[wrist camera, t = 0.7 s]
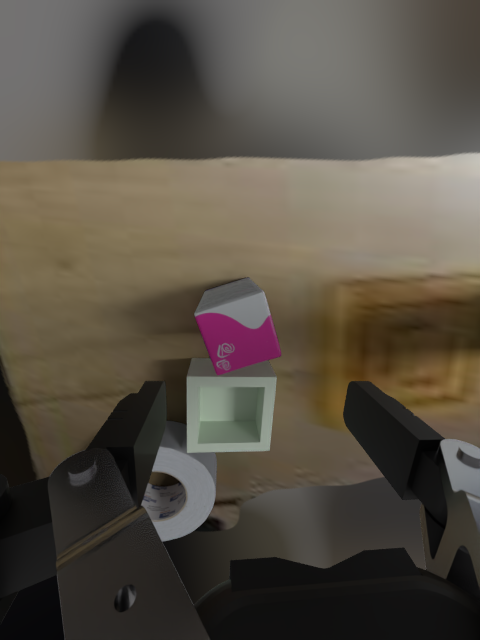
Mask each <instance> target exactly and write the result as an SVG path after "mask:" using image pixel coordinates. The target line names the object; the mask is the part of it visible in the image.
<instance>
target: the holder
mask: <svg viewBox="0 0 480 640" xmlns="http://www.w3.org/2000/svg"><path fill="white" fill-rule="evenodd" d="M276 380H277V377H276V374H275V372H274V370H273V368H272V366H271V364H270V362H269V360H267V361H263V362H260V363H256V364H253V365H250V366H246V367H243V368H240V369H237V370H234V371H231V372H228V373H225V374H221V375H217V374H216V372H215V369H214V366H213V364H212V361H211V359H210V358H192V359H191V363H190V367H189V370H188V374H187V453H197V452H239V451H269V450H270V440H271V430H272V420H273V410H274V400H275V390H276Z"/></svg>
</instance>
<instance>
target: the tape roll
mask: <svg viewBox="0 0 480 640" xmlns="http://www.w3.org/2000/svg"><path fill="white" fill-rule="evenodd" d="M216 470H217V461H216V455H215V452H197V453H187V425H185V424H183V423H179V422H175V421H166V427H165V431H164V434H163V437H162V441H161V444H160V447H159V450H158V453H157V456H156V460H155V463H154V466H153V469H152V472H161V473H166V474H169V475H171V476H173V477H175V478H176V479H178V480H179V481H180V482H179V483H178V484H175V485H172V486H167V487H160V486H155V485H152V484H149V483H148V485H147V488H146V491H145V495H144V498H143V501H142V504H141V506H143V507H144V508H145V509H146V511H147V513H148V514H149V516H150V518H151V520H152V522H153V524H154V526H155V529H156V531H157V533H158V535H159V537H160V539H161V541H167V540H171V539H176V538H179V537H182V536H184V535H187V534H189V533H190V532H192V531H194V530H195V529H196V528H198V527H199V526H200V525H201V524H202V523H203V522H204V521H205V520H206V518H207V517H208V515H209V513H210V512H211V509H212V507H213V505H214V501H215V495H216Z"/></svg>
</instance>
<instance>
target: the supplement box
mask: <svg viewBox="0 0 480 640" xmlns="http://www.w3.org/2000/svg"><path fill="white" fill-rule="evenodd" d="M194 316H195V319H196V322H197V324H198V327H199V330H200V332H201V335H202V337H203V340H204V343H205V345H206V348H207V351H208V353H209V356H210V359H211V361H212V364H213V366H214V369H215V372H216V374H217V375H221V374H225V373H228V372H231V371H234V370H237V369H240V368H243V367H246V366H250V365H253V364H256V363H260V362H263V361H267V360H270V359H273V358H277V357H280V356H281V350H280V346H279V342H278V338H277V335H276V331H275V327H274V324H273V320H272V317H271V314H270V310H269V307H268V303H267V299H266V296H265V293H264V291H263V290H262V289H261V288H259V287H258V286H257V285H256V284H255V283H254V282H253V281H252V280H251V279H250V278H249V277H247V278H244V279H241V280H238V281H234V282H231V283H228V284H224V285H221V286H218V287H215V288H212V289H208V290H206V291H205V292H204V294H203V296H202V298H201V301H200V303H199V305H198V307H197V309H196V311H195V313H194Z"/></svg>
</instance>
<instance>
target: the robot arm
mask: <svg viewBox="0 0 480 640" xmlns="http://www.w3.org/2000/svg"><path fill="white" fill-rule="evenodd" d="M343 417H344V421H345V424H346V426H347V428H348V429H349V430H350V432H351V433H352V434H353V436H354V437H355V438H356V440H357V441H358V442H359V444H360V445H361V446H362V447H363V449H364V450H365V451H366V453H367V454H368V455H369V457H370V458H371V459H372V461H373V462H374V463H375V465H376V466H377V467H378V469H379V470H380V471H381V472H382V474H383V475H384V476H385V478H386V479H387V480H388V482H389V483H390V484H391V486H392V487H393V488H394V490H395V491H396V492H397V493H398V495H399V496H400V497H401V499H402V500H411V499H419V500H420V501H421V502H422V505H421V508H420V521H421V530H422V538H423V547H424V556H425V565H426V570H423V569H421V568H418V567H416V566H415V564H414V562H413V561H412V559H411V558H410V556H409V555H408V553H407V551H406V550H405V548H392V549H379V550H365V551H362V552H360V553H358V554H356V555H354V556H352V557H350V558H348V559H346V560H344V561H342V562H340V563H338V564H336V565H334V566H332V567H330V568H326V569H323V568H318V567H313V566H309V565H305V564H301V563H297V562H293V561H289V560H285V559H281V558H277V557H271V558H257V559H244V560H231V561H230V576H229V580H227V581H225V582H223V583H221V584H219V585H217V586H216V587H214V588H213V589H212V590H210V591H208V592H207V593H206V594H205V595H204V596H203V597H202V598H200V599H199V600H198V601H197V602H196V603H195V605H193V604H192V602H191V600H190V597H189V595H188V593H187V591H186V589H185V587H184V585H183V583H182V581H181V579H180V577H179V575H178V573H177V571H176V569H175V567H174V565H173V563H172V561H171V559H170V557H169V555H168V553H167V551H166V549H165V547H164V545H163V543H162V541H161V539H160V537H159V535H158V533H157V531H156V529H155V526H154V524H153V522H152V520H151V518H150V516H149V514H148V513H147V511H146V509H145V508H144V507H143V506H141V504H142V501H143V498H144V495H145V491H146V488H147V485H148V482H149V479H150V475H151V472H152V469H153V466H154V463H155V460H156V456H157V453H158V450H159V447H160V444H161V441H162V437H163V434H164V431H165V427H166V419H167V407H166V384H165V381H145V382H144V384H143V386H142V387H141V389H140V391H139V392H138V393H130V394H129V395H128V396H126V397H125V398H123V399H122V400H121V401H120V402H119V403H118V404H117V406H116V407H115V409H114V410H113V412H112V413H111V414H110V416H109V417H108V420H106V422H105V423H104V425H103V426H102V427H101V429H100V430H99V432H98V433H97V435H96V436H95V438H94V439H93V440H92V442H91V443H90V445H89V446H88V448H87V449H86V450H84V451H81V452H78V453H76V454H74V455H72V456H70V457H68V458H67V459H65V460H64V461H63V462H61V463H60V464H59V465H58V466H57V467H56V468H55V469H54V470H53V472H52V473H51V475H50V476H49V477H46V478H43V479H40V480H36V481H33V482H29V483H25V484H22V485H18V486H14V487H11V488H9V486H8V482H7V479H6V477H5V476H4V475H1V474H0V624H1V622H2V620H3V619H4V617H5V615H6V613H7V611H8V609H9V608H10V606H11V604H12V602H13V601H14V599H15V597H16V595H17V593H18V592H19V590H21V589H24V588H26V587H29V586H31V585H33V584H36V583H38V582H40V581H43V580H45V579H48V578H50V577H52V576H54V575H57V578H58V586H59V595H60V602H61V611H62V618H63V627H64V636H65V640H480V448H478V447H476V446H474V445H471V444H469V443H466V442H463V441H460V440H455V439H445V438H443V437H442V436H441V435H440V434H438V433H437V432H436V431H435V430H433V429H432V428H431V427H430V426H428V425H427V424H426V423H425V422H423V421H422V420H421V419H420V418H418V417H417V416H414V414H413V413H412V412H411V411H409V410H408V409H406V407H404V406H403V405H402V404H401V403H399V402H398V401H397V400H396V399H394V398H392V397H390V396H388V395H386V394H385V393H384V392H382V391H381V390H380V389H379V388H377V387H376V386H375V385H374V384H372V383H371V382H369V381H351V382H350V383H349V385H348V389H347V395H346V400H345V406H344V412H343Z"/></svg>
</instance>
